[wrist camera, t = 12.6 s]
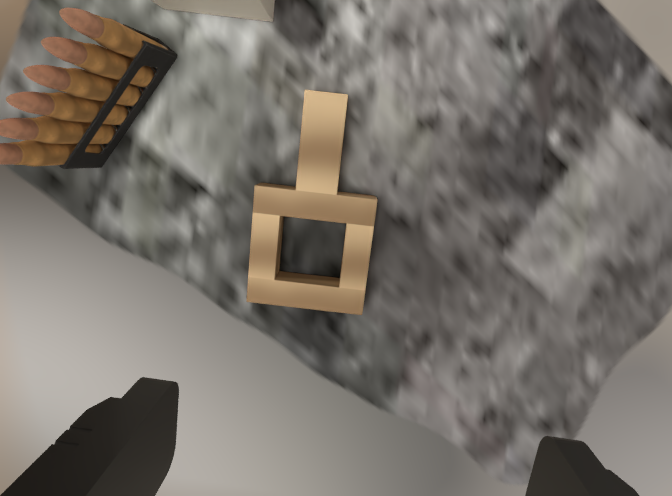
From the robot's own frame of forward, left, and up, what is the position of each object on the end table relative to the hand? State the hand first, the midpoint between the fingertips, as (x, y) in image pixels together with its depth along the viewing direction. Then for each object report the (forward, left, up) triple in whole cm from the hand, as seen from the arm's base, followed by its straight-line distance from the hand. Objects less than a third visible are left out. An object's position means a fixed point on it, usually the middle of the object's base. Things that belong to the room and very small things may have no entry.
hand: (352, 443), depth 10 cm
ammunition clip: (+18, -7, -27) cm, 33 cm away
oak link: (+3, -2, -27) cm, 27 cm away
